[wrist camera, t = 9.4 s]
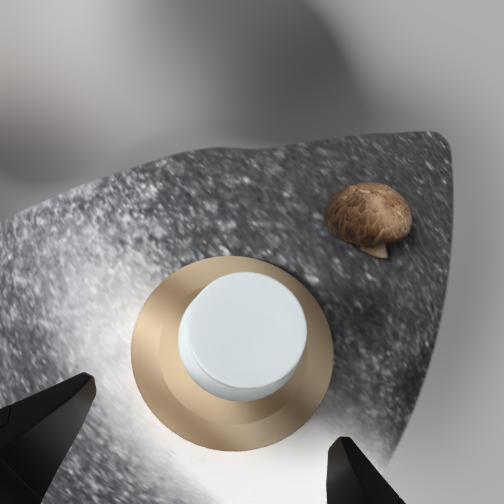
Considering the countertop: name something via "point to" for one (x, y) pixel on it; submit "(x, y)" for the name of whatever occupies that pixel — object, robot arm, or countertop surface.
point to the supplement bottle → (242, 336)
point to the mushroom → (368, 217)
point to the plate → (200, 401)
